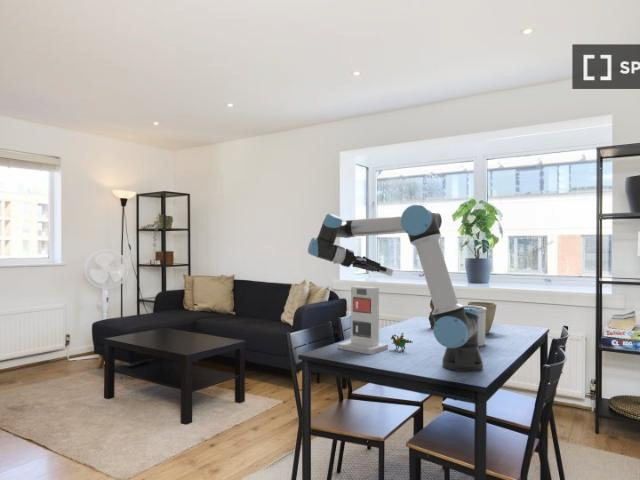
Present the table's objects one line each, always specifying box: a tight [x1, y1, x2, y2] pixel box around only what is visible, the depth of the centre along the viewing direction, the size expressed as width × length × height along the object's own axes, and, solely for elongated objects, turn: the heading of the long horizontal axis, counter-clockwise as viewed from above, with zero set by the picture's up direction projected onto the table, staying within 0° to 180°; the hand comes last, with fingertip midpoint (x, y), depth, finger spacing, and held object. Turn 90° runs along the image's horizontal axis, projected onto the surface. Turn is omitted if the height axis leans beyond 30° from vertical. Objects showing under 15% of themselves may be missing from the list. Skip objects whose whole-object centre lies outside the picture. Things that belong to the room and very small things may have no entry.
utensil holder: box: [463, 304, 486, 347], centre depth 219 cm, size 15×15×18 cm
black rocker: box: [353, 323, 371, 336], centre depth 206 cm, size 2×8×5 cm, turn 63°
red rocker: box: [353, 299, 371, 311], centre depth 206 cm, size 2×8×5 cm, turn 62°
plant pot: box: [467, 301, 497, 335], centre depth 247 cm, size 15×15×16 cm
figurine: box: [390, 332, 414, 352], centre depth 203 cm, size 3×12×8 cm, turn 45°
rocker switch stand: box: [337, 285, 389, 355], centre depth 207 cm, size 14×18×28 cm
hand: (391, 272), depth 200 cm, fingers closed
